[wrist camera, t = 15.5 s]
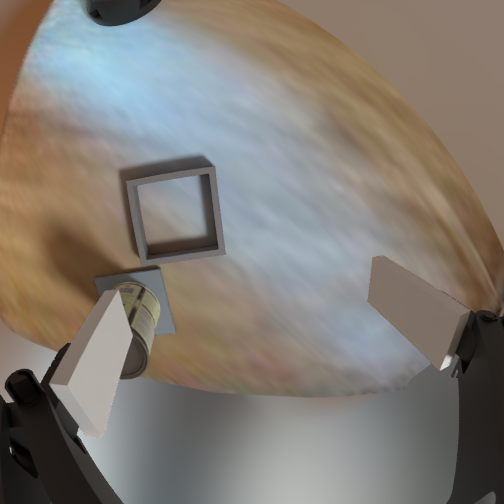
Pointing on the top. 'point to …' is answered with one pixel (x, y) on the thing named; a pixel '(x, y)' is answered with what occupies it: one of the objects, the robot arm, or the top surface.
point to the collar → (183, 254)
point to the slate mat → (150, 280)
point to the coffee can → (138, 326)
